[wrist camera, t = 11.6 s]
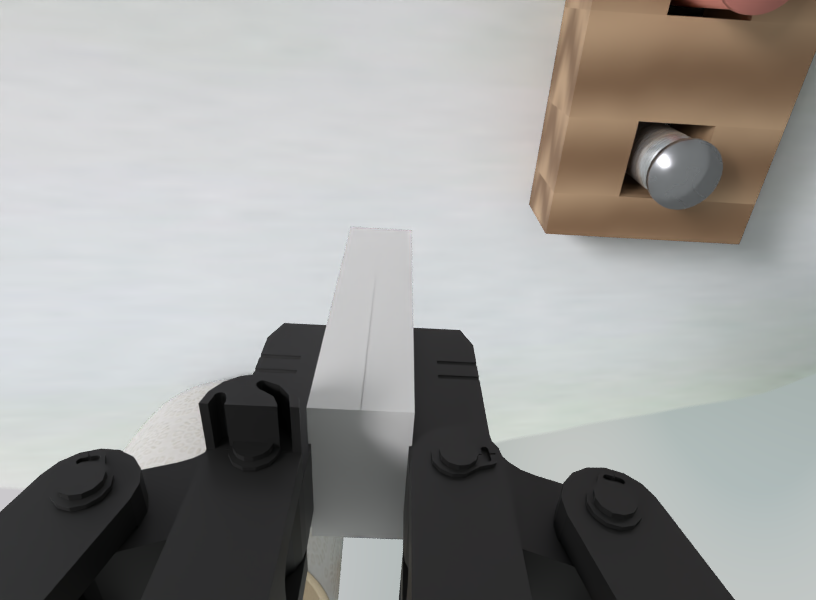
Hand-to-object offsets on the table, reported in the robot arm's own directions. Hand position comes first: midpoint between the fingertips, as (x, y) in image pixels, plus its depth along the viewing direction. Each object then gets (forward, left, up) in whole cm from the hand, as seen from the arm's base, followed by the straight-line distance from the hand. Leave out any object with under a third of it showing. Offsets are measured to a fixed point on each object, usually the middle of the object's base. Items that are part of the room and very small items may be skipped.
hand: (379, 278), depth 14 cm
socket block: (-3, +18, -29) cm, 35 cm away
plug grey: (+2, +18, -29) cm, 35 cm away
